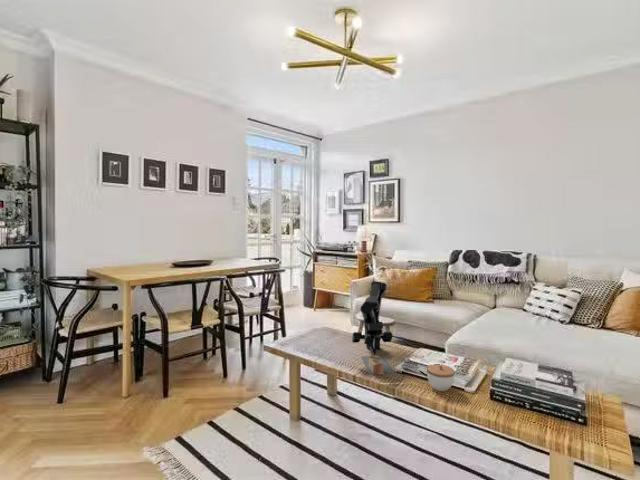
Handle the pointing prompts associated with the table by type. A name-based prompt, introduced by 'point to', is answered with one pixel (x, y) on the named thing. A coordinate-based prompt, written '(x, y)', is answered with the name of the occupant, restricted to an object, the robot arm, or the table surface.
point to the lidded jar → (440, 376)
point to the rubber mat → (386, 365)
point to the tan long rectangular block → (375, 365)
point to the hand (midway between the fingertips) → (374, 354)
